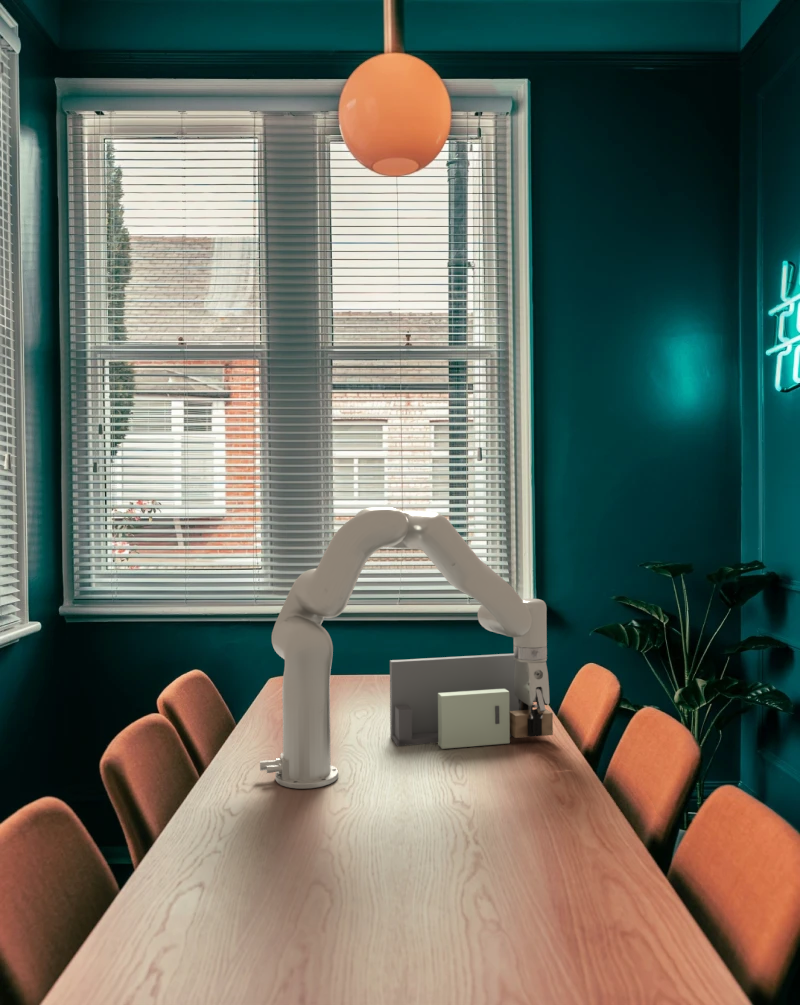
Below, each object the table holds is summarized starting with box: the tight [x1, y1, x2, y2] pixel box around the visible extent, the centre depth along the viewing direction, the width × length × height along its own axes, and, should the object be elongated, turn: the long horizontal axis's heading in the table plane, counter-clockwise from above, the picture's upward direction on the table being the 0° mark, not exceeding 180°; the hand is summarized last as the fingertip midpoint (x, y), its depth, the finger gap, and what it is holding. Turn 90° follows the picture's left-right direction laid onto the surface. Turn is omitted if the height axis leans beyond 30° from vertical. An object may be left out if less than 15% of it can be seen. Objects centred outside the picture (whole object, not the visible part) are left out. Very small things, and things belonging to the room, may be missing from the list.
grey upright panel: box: [389, 652, 519, 747], centre depth 182 cm, size 34×7×18 cm, turn 103°
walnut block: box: [509, 708, 554, 739], centre depth 177 cm, size 9×4×5 cm, turn 103°
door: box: [437, 689, 511, 750], centre depth 174 cm, size 16×3×12 cm, turn 103°
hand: (530, 732), depth 177 cm, fingers closed on walnut block, 4 cm apart
